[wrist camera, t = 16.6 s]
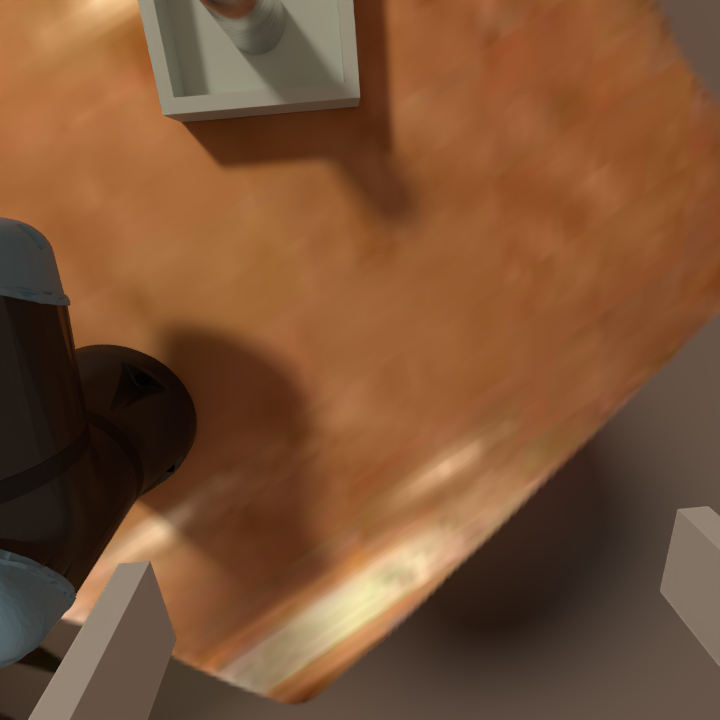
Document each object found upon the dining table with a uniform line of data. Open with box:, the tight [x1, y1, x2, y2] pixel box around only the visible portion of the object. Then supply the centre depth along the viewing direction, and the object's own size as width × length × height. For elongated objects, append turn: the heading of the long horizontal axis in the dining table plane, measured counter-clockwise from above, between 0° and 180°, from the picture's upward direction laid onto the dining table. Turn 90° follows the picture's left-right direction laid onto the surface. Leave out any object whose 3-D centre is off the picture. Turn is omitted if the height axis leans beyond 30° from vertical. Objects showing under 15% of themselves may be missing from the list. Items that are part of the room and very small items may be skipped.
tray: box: [138, 0, 360, 122], centre depth 31 cm, size 14×12×4 cm
